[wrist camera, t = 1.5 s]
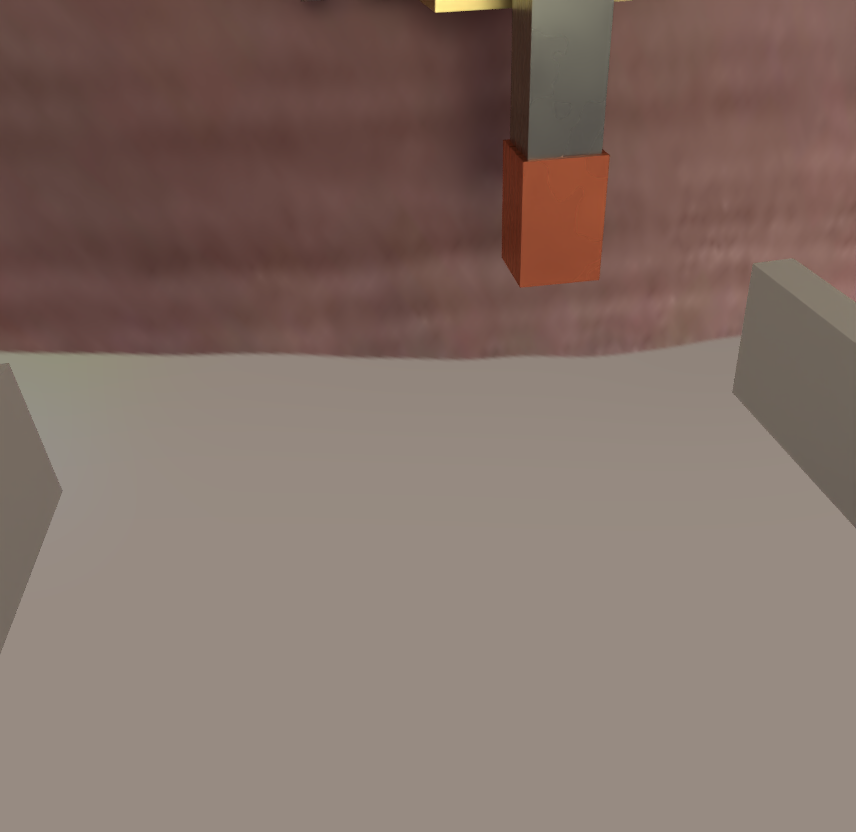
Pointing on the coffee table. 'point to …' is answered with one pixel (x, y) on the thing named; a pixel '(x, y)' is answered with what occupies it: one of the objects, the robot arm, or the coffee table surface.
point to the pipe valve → (466, 4)
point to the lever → (556, 141)
